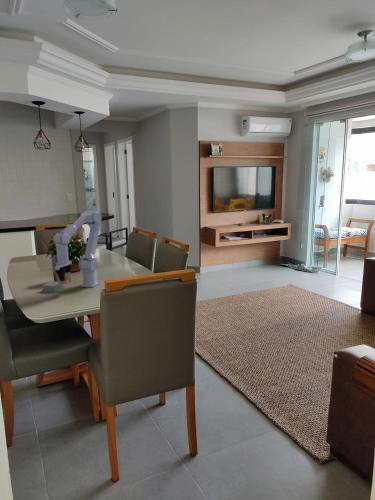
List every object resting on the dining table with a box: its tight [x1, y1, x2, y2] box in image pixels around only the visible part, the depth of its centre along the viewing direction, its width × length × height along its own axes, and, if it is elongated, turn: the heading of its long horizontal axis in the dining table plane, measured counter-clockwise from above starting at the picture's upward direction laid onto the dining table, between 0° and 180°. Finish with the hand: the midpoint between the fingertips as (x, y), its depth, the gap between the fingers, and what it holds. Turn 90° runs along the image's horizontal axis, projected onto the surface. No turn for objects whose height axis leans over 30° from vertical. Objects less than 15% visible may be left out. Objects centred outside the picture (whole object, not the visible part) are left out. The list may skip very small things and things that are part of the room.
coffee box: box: [51, 255, 58, 282], centre depth 221 cm, size 9×6×16 cm
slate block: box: [41, 280, 65, 294], centre depth 205 cm, size 8×8×4 cm
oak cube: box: [58, 272, 72, 285], centre depth 196 cm, size 5×5×5 cm
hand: (64, 279), depth 196 cm, fingers closed on oak cube, 5 cm apart
